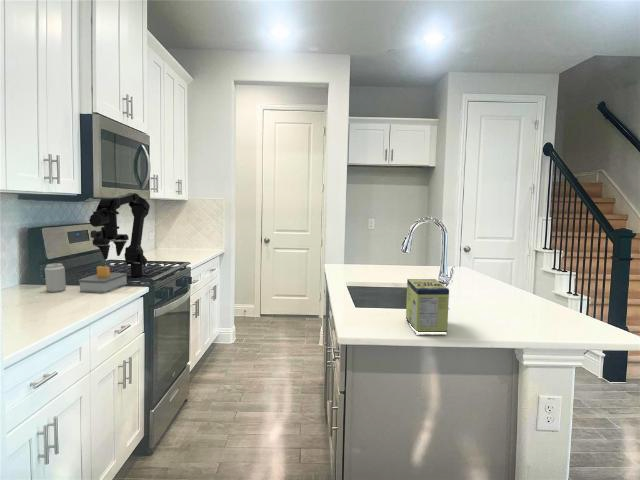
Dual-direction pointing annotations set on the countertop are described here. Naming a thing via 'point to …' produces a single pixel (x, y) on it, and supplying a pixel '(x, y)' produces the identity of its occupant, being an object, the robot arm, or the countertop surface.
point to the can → (55, 277)
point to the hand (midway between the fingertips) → (112, 257)
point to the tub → (103, 286)
